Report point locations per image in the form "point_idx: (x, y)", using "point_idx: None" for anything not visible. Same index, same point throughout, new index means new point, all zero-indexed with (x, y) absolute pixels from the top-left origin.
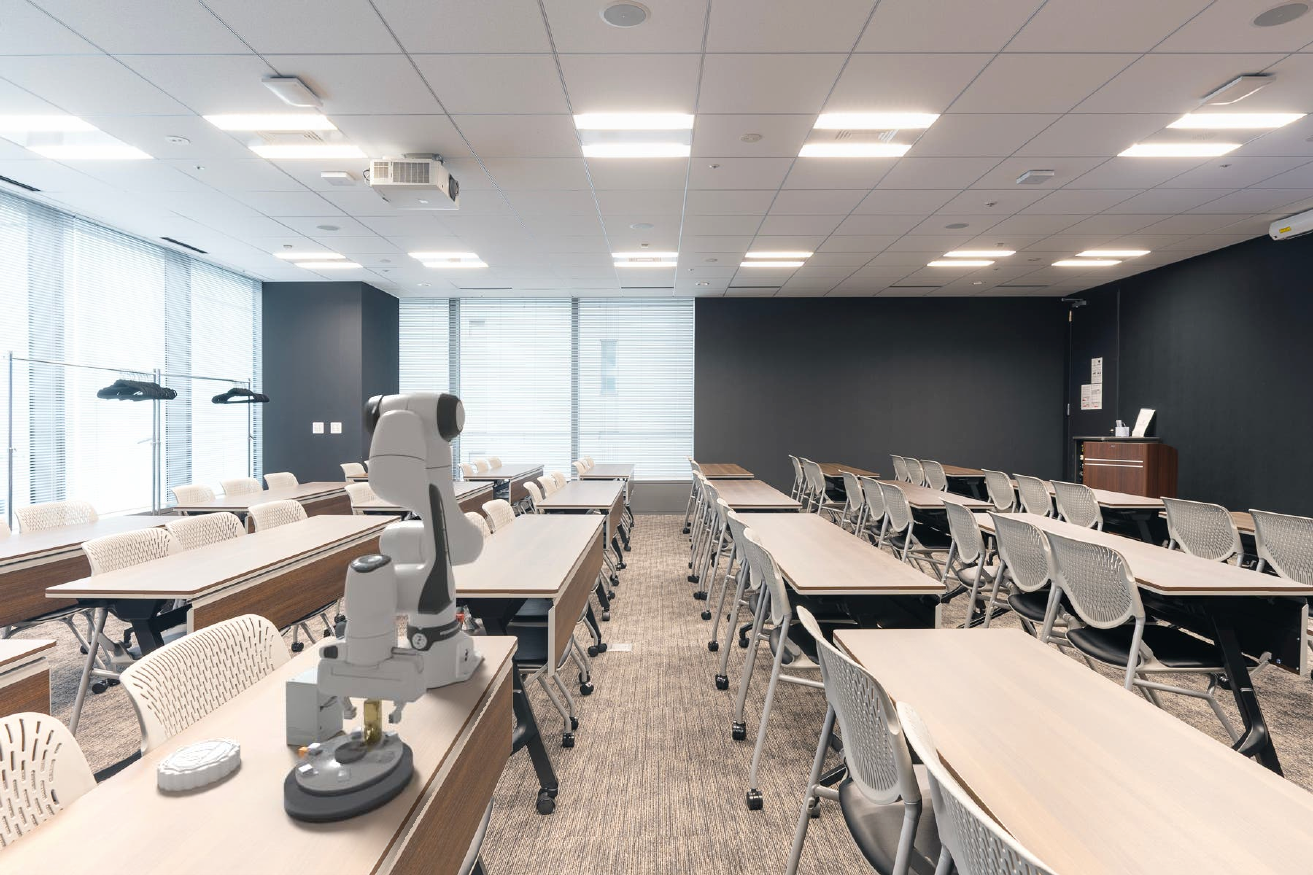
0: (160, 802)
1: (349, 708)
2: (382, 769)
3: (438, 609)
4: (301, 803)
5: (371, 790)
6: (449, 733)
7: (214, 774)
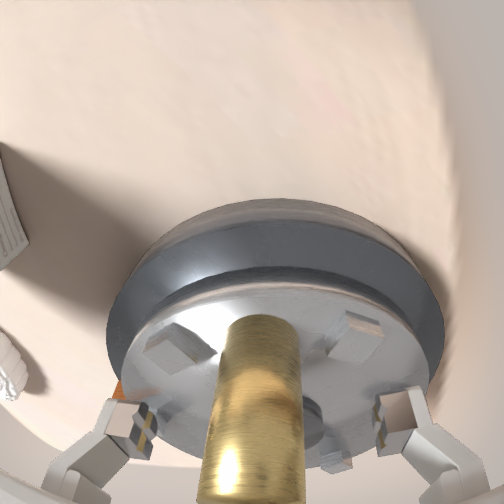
0: (37, 401)
1: (119, 447)
2: None
3: None
4: None
5: None
6: (404, 8)
7: (21, 375)
